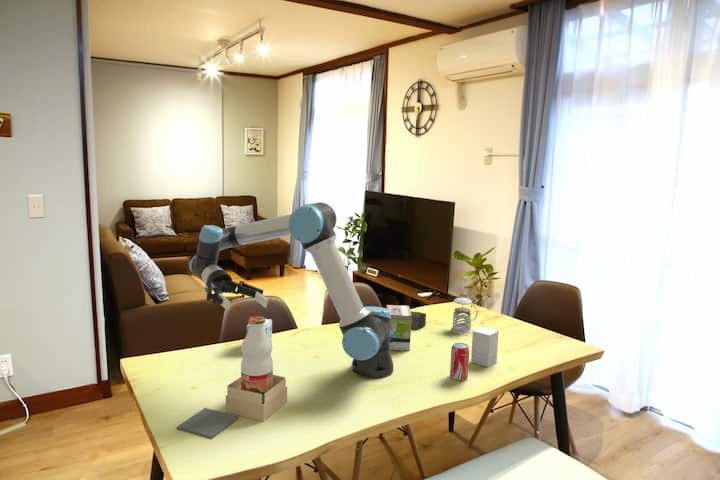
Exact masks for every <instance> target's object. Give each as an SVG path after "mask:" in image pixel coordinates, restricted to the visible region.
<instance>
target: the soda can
mask: <svg viewBox="0 0 720 480" xmlns="http://www.w3.org/2000/svg"><path fill="white" fill-rule="evenodd" d="M450 351H451V352H450V364H449V365H450V366H449V376H450V377H451V378H452V379H453V378H454V379H453V380H455V379H456V381H466V380H467V379H468V378H469V366H470V365H469V364H470V362H469V361H470V351H471V350H470V347H469V345H468V343H464V342H455V343H453V344H452V345H451V350H450Z"/></svg>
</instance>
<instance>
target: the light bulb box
mask: <svg viewBox="0 0 720 480" xmlns="http://www.w3.org/2000/svg"><path fill="white" fill-rule="evenodd" d="M264 327H265V331H266V334H267V336H268V337H269V339H270V340H271V342H272V343H273V320H272V319H268V318H265V324H264ZM248 330H249V324H247V325H246V334H247V333H248Z"/></svg>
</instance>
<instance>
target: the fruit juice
mask: <svg viewBox="0 0 720 480" xmlns="http://www.w3.org/2000/svg"><path fill="white" fill-rule="evenodd" d="M265 319H266V318H265V317H264V316H263V315H261V316H260V315H254V316H250V317H248V320H247V322H248V324H249V330H248V333H247V332H246V336H245V338H244V339H243V341H242V342H241V345H240V346H241V348H240V349H241V350H240V351H241V354H242V358H241V361H240V363H241V364H240V377H241V390H245V391H249V392H254V393H258V394H262V404H264V394H265V393H266V392H268V391H269V390H270V389H272V388H273V375H274V363H273V358H272V351H273V341H272V342H271V340H270V339H269V337H268V336H267V334H266V331H265V327H264V324H265ZM248 324H247V325H248Z"/></svg>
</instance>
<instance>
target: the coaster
mask: <svg viewBox="0 0 720 480" xmlns="http://www.w3.org/2000/svg"><path fill="white" fill-rule="evenodd" d="M239 416H240V415H236V414H232V413H228V412H224V411H221V410H215V409H213V408H212V409H211V408H208V407H204V408H203V409H201V410H200V411H199V410H198V412H197V413H195V414H194V415H192V416H191V417H189V418H188V419H186V420H185V421H183V422H182V423H180V424H179V425H177V426H176V429H177V430H179V431H183V432H187V433H190V434H194V435H198V436H200V437H205V438H208V439H214V438H215V437H217V436H218V434H220V433H221V432H223V431H224V430H226V429H227V428H228V427H229V426H230V425H232V424H233V423H234V422H236V421H237V420H238V419H239V418H240V417H239Z"/></svg>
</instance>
